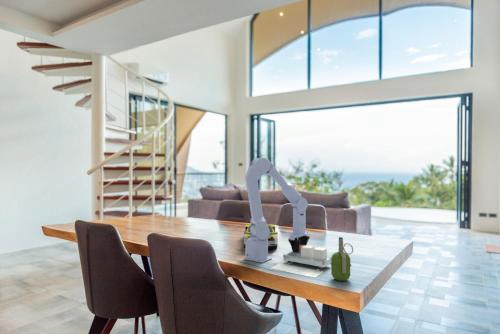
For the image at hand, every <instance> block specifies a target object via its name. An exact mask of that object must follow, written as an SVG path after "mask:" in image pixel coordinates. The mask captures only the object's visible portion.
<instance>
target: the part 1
mask: <svg viewBox="0 0 500 334" xmlns="http://www.w3.org/2000/svg"><path fill="white" fill-rule="evenodd" d="M314 248H315V246H313V245H305V246H302V247H301V258H307V259H313V249H314Z"/></svg>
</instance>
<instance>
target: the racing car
mask: <svg viewBox="0 0 500 334" xmlns="http://www.w3.org/2000/svg"><path fill="white" fill-rule="evenodd" d="M266 224H267V226H268V228H269V230H270V235H269V237H268V251H273V249H278V235H279V234H278V231H276V225H275V224H270V223H266ZM250 226H251V224H245V227H244V231H243V248H244V249H245V245H246V241H247V239H248V238H251V237H252V234H251V232H250Z"/></svg>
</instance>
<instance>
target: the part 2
mask: <svg viewBox="0 0 500 334" xmlns="http://www.w3.org/2000/svg"><path fill="white" fill-rule="evenodd" d="M327 252H328V249H327V248H326V247H319V246H318V247H314V249H313V260H319V261H324V260H326V259H327V258H328V253H327Z"/></svg>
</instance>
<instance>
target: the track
mask: <svg viewBox="0 0 500 334" xmlns="http://www.w3.org/2000/svg"><path fill="white" fill-rule="evenodd" d="M293 263H294V262H293V261H291V263H288V262H287V264H286V263H278V264H276V265H274V266H272V267H270V270H275V271H281V272H286V273H290V274H295V275H298V276H299V275H301V276H304V277H308V278H309V277H310V278H314V279H315V278H317V277H319V276H320V275H322V274H323V273H324V271H323V270H321V269H323V268H324V267H321V269H318V268H316V269H311V268H306V267H302V266H295V265H291V264H293ZM320 270H321V271H320Z"/></svg>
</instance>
